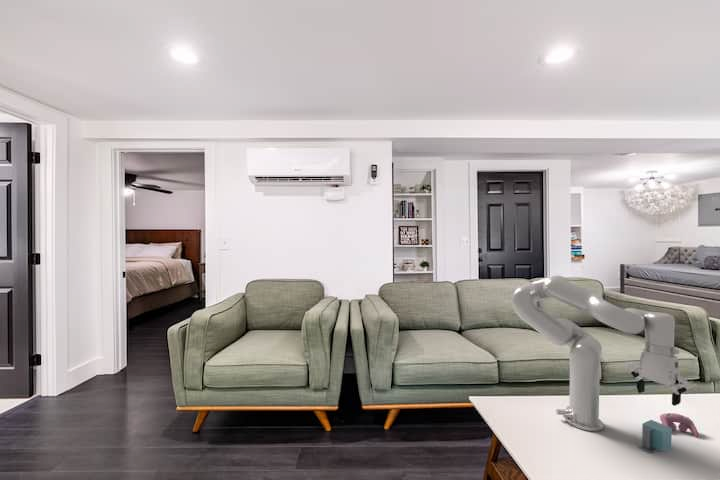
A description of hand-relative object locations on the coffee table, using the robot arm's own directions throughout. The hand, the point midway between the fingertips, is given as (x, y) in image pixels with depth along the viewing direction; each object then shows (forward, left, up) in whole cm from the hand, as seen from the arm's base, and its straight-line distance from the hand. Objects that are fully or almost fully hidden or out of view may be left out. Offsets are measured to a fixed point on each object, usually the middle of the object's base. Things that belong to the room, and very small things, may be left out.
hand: (657, 398), depth 117 cm
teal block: (0, 0, -16) cm, 16 cm away
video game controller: (+14, +9, -17) cm, 24 cm away
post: (-5, -3, -16) cm, 17 cm away
